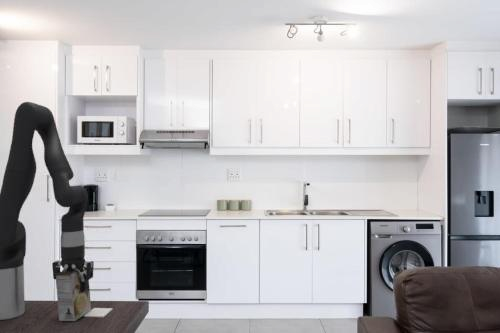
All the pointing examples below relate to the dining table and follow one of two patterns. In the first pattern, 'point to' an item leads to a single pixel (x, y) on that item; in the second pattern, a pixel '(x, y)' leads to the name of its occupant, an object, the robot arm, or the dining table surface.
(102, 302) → the dining table surface
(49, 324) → the dining table surface
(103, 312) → the coaster
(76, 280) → the coffee box
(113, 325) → the dining table surface
